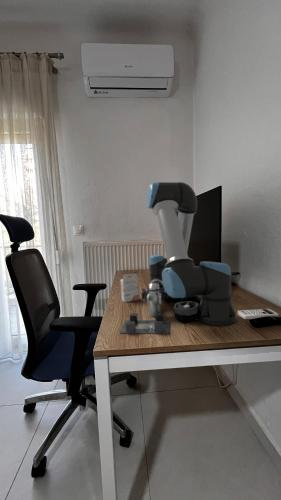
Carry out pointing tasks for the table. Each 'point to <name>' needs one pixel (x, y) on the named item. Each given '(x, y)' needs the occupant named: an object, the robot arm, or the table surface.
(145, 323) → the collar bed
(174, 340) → the table surface
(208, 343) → the table surface
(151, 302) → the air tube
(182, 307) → the cpu cooler
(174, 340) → the table surface
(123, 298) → the ink cartridge box
